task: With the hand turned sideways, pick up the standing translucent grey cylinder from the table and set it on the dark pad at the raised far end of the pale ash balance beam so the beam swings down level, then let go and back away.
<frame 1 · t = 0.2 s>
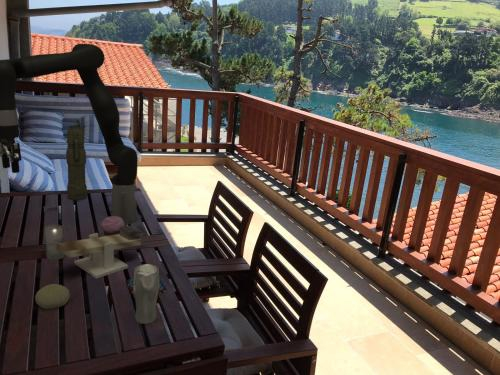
hand: (11, 170, 155), 29 cm above the table, tool pointing down, fingers open, 8 cm apart
thermos: (77, 198, 221), on the table
cupcake: (113, 241, 175), on the table
balance beam: (101, 240, 152), point 9 cm above the table, hinge at -6.0°
woven mat: (145, 289, 142), on the table
sea urchin shell: (53, 303, 130), on the table
pivot stand: (101, 265, 154), on the table
beer glass: (145, 318, 126), on the table
translucent grey cylinder: (55, 256, 158), on the table
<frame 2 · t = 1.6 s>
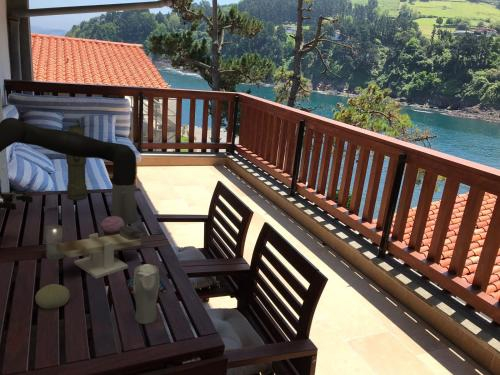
hand: (23, 203, 155), 18 cm above the table, tool horizontal, fingers open, 8 cm apart
nothing on the table moved.
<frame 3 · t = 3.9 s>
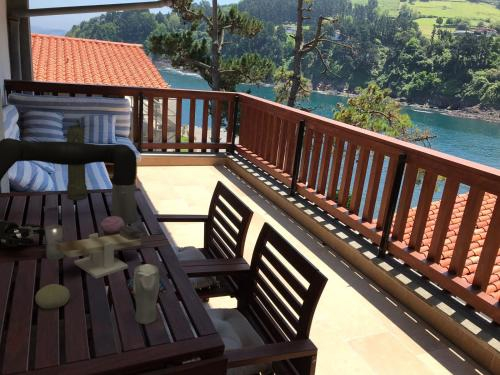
hand: (40, 237, 157), 6 cm above the table, tool horizontal, fingers open, 8 cm apart
nothing on the table moved.
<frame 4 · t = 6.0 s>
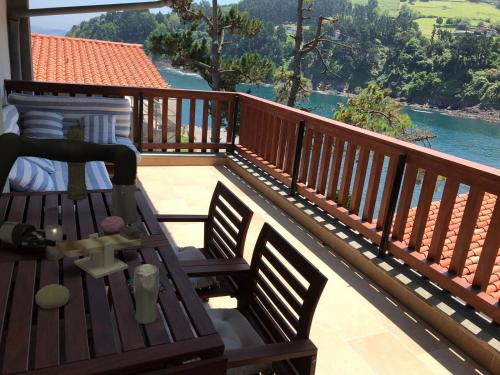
hand: (60, 240, 156), 7 cm above the table, tool horizontal, fingers closed on translucent grey cylinder, 5 cm apart
translucent grey cylinder: (55, 256, 158), on the table, touching gripper
everything else where it was.
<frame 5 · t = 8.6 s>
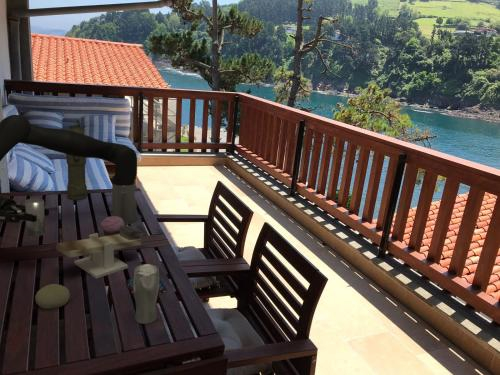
hand: (42, 215, 143), 19 cm above the table, tool horizontal, fingers closed on translucent grey cylinder, 5 cm apart
translucent grey cylinder: (36, 233, 145), point 12 cm above the table, touching gripper
everything else where it was.
when the fingers open (17 cm above the table, at t = 11.3 s): translucent grey cylinder stays where it is, resting on balance beam.
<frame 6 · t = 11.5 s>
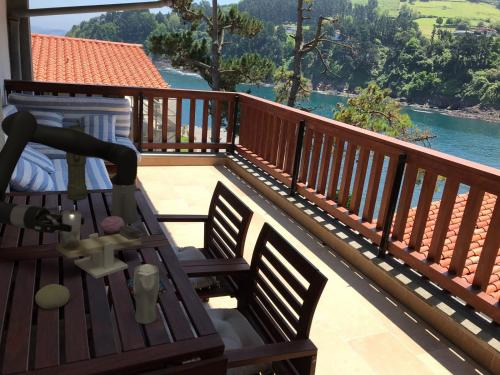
hand: (77, 224, 141), 18 cm above the table, tool horizontal, fingers open, 6 cm apart
balance beam: (101, 240, 152), point 9 cm above the table, hinge at -5.3°, touching translucent grey cylinder
translucent grey cylinder: (70, 245, 144), point 10 cm above the table, touching balance beam, gripper
everything else where it was.
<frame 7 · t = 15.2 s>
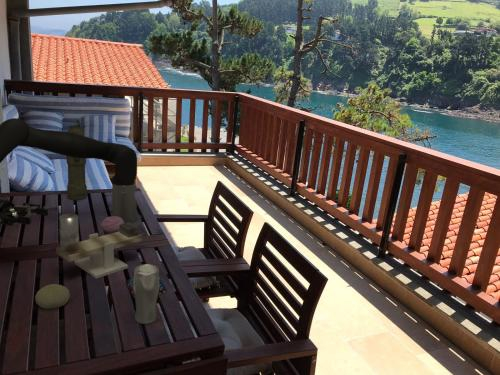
hand: (39, 216, 143), 18 cm above the table, tool horizontal, fingers open, 8 cm apart
balance beam: (101, 240, 152), point 9 cm above the table, hinge at 0.3°, touching translucent grey cylinder
translucent grey cylinder: (70, 248, 144), point 9 cm above the table, touching balance beam
everything else where it was.
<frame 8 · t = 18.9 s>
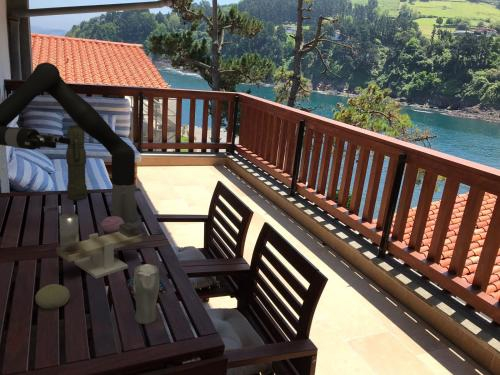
hand: (63, 143, 160), 38 cm above the table, tool horizontal, fingers open, 8 cm apart
nothing on the table moved.
at the end: balance beam at +0° (first picture: -6°); translucent grey cylinder inside the target area on the balance beam (0.8 cm from its centre), point 1.1 cm above the balance beam's base; translucent grey cylinder tilted 0° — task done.
